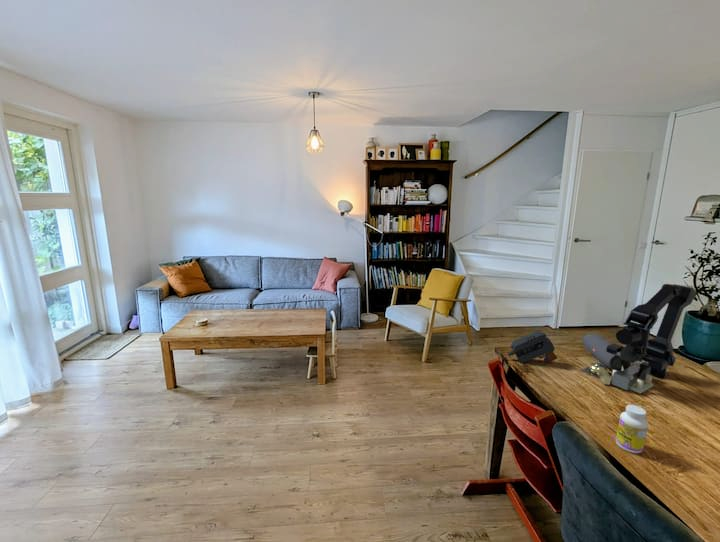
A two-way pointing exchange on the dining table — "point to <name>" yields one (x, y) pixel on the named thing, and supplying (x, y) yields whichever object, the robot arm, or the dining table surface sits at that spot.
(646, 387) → the rack
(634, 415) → the supplement bottle
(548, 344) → the tool
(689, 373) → the dining table surface
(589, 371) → the flange
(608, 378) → the brass door handle
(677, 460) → the dining table surface
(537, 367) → the dining table surface
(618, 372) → the grey bone-shaped bar
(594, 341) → the bluetooth speaker
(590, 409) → the dining table surface
